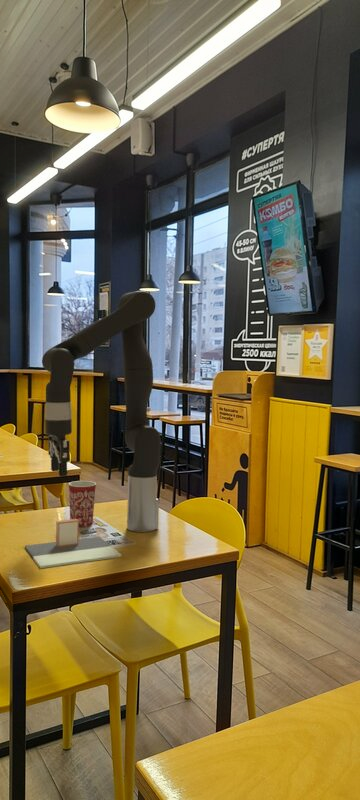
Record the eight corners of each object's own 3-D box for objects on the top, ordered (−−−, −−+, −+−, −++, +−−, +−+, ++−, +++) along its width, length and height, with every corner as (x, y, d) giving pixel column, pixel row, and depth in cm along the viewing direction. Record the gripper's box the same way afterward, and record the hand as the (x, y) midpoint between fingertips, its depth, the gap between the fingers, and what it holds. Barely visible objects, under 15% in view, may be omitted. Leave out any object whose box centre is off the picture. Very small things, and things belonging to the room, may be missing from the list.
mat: (99, 538, 168) (99, 536, 168) (121, 556, 152) (121, 554, 152) (24, 547, 158) (24, 545, 158) (40, 568, 142) (40, 566, 142)
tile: (76, 542, 162) (76, 518, 161) (78, 544, 160) (78, 520, 160) (55, 545, 159) (56, 520, 159) (57, 547, 157) (57, 522, 157)
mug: (99, 526, 182) (100, 484, 181) (72, 529, 177) (73, 487, 177) (86, 516, 193) (87, 477, 192) (60, 519, 188) (61, 479, 188)
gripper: (78, 419, 157) (78, 476, 158) (64, 415, 170) (64, 468, 171) (51, 420, 154) (52, 479, 155) (39, 416, 166) (40, 470, 167)
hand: (58, 473), depth 163 cm, fingers open, 8 cm apart
